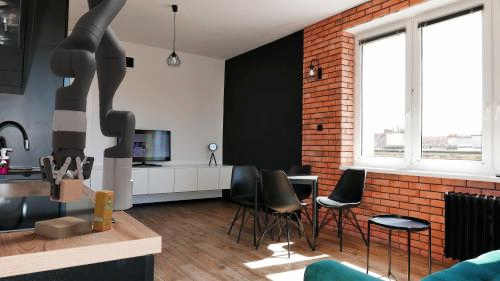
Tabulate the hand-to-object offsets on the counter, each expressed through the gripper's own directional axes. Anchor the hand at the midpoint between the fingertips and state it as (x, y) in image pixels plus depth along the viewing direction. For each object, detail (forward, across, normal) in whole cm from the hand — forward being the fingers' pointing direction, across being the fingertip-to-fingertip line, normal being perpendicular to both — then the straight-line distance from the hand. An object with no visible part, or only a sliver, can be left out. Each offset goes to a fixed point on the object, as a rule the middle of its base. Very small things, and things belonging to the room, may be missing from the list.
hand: (66, 197), depth 87 cm
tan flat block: (+9, 0, 0) cm, 9 cm away
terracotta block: (0, 0, 0) cm, 0 cm away
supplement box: (+9, -7, +5) cm, 12 cm away
